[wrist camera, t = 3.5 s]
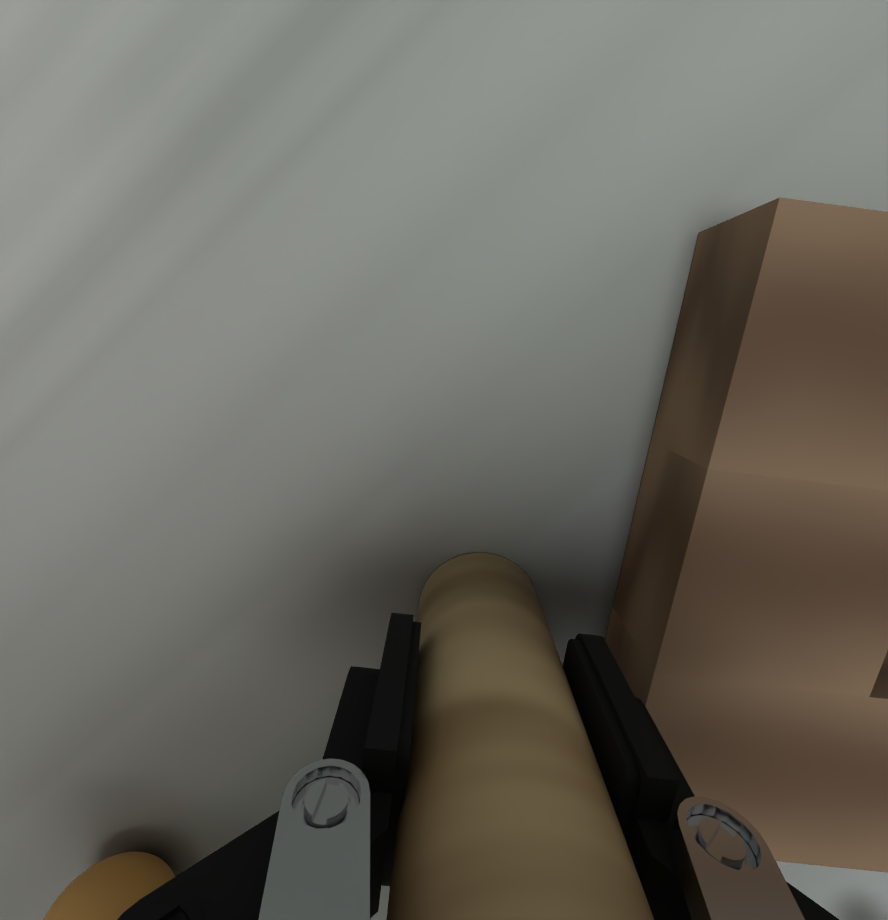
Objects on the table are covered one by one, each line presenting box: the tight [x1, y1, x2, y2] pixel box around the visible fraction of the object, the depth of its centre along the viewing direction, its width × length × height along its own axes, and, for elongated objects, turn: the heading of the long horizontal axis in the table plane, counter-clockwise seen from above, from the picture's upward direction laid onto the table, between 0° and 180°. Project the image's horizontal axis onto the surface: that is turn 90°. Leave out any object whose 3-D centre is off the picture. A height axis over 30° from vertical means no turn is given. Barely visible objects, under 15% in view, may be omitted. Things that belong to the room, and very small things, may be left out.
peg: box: [387, 553, 654, 920], centre depth 9 cm, size 4×4×12 cm
